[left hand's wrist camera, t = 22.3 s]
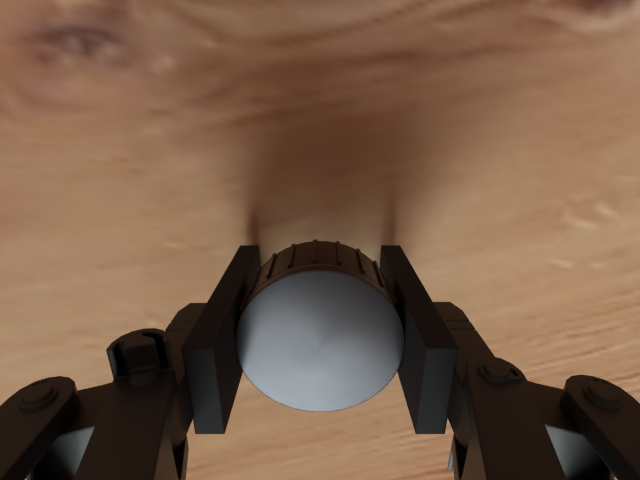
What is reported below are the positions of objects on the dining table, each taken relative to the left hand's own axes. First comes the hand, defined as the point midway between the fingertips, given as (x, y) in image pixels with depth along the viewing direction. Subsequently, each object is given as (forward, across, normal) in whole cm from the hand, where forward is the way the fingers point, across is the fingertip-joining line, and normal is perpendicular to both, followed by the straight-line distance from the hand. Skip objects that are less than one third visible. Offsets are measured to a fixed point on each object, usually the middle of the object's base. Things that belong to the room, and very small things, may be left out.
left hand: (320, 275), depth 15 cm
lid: (-4, 0, 0) cm, 4 cm away
